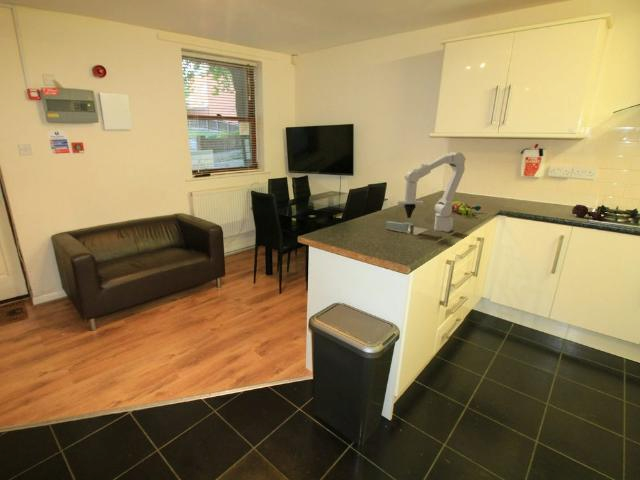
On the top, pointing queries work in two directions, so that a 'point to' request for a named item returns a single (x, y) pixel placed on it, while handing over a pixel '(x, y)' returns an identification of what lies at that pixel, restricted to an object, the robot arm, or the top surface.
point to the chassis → (412, 230)
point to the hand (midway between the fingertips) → (408, 217)
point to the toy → (463, 208)
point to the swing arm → (399, 225)
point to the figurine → (586, 212)
